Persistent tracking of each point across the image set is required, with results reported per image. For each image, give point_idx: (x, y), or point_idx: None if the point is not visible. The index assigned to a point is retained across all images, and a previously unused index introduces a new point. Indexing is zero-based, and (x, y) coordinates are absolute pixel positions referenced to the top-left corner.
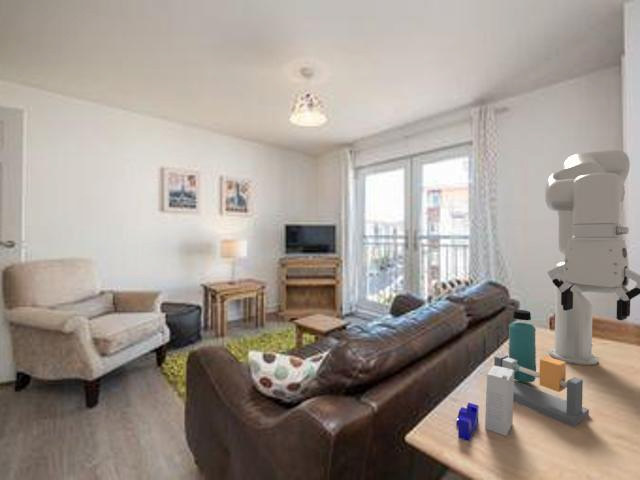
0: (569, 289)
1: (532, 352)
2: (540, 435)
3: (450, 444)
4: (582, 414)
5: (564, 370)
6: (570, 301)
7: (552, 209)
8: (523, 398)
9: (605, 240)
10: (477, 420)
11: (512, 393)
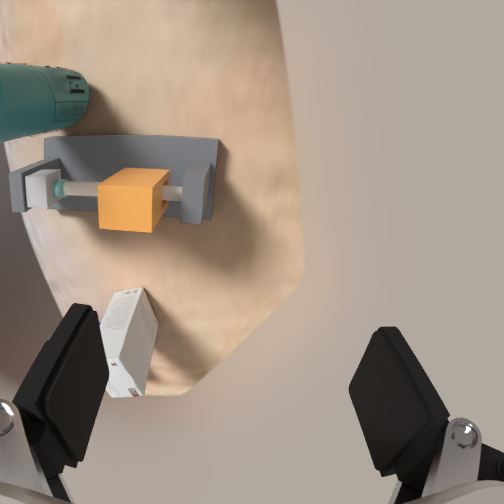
0: (47, 455)
1: (46, 105)
2: (186, 284)
3: None
4: (214, 174)
5: (158, 189)
6: (84, 378)
7: None
8: None
9: None
10: None
11: (135, 337)
